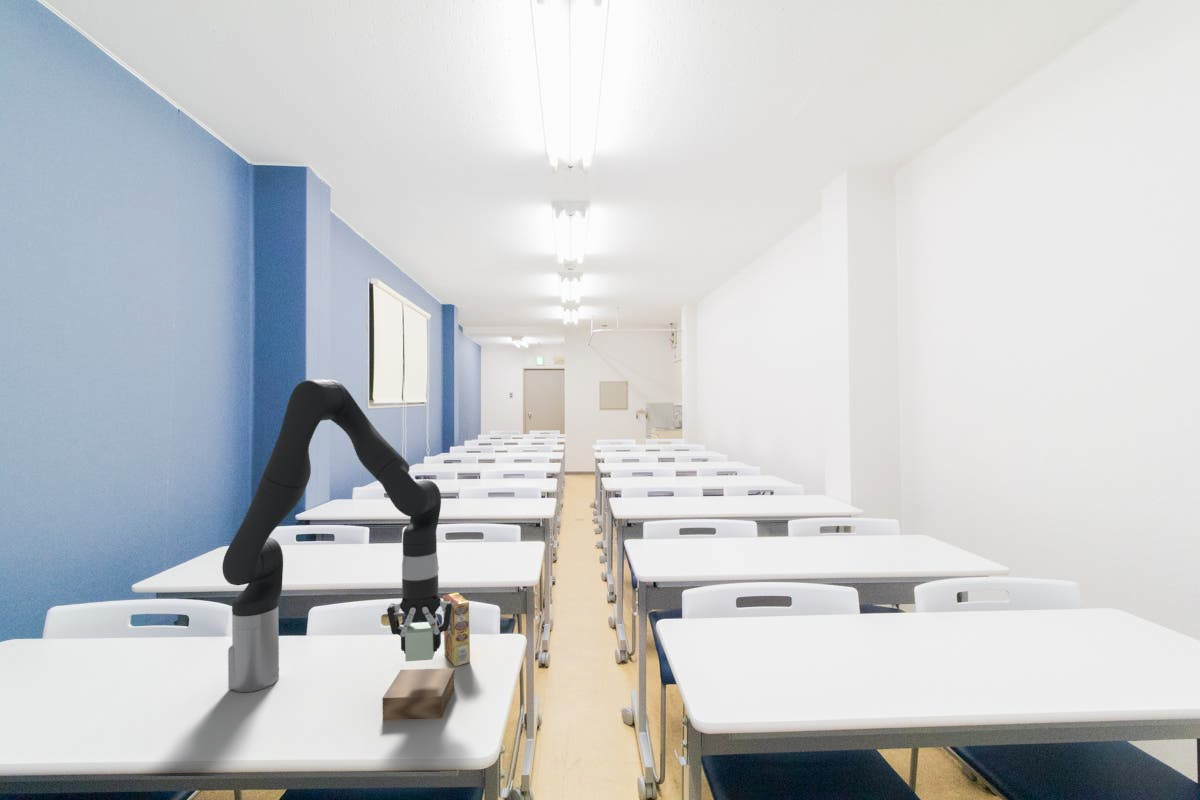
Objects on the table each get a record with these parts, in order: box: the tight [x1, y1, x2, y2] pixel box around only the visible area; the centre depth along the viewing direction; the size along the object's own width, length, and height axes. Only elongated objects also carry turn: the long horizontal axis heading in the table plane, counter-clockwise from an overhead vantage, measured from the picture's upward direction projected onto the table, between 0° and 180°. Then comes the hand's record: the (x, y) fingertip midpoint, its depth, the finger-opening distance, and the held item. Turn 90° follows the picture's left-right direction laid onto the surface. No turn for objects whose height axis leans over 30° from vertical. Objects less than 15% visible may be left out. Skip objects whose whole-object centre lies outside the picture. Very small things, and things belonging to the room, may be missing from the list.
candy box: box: [442, 592, 471, 667], centre depth 142 cm, size 9×4×15 cm, turn 33°
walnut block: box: [382, 667, 455, 722], centre depth 121 cm, size 12×12×5 cm
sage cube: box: [404, 621, 436, 662], centre depth 122 cm, size 6×6×6 cm
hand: (421, 650), depth 122 cm, fingers closed on sage cube, 5 cm apart
